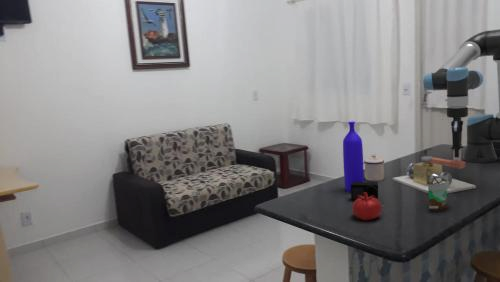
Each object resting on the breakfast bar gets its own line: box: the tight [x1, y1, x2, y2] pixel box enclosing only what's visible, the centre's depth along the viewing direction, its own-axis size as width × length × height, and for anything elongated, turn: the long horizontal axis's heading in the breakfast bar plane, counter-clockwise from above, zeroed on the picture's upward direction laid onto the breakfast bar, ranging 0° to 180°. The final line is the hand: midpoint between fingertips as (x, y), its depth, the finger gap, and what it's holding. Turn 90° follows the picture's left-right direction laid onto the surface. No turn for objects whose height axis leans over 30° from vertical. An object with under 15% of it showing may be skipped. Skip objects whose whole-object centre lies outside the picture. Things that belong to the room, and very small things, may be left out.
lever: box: [420, 155, 466, 170], centre depth 163 cm, size 18×5×2 cm, turn 31°
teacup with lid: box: [363, 154, 385, 182], centre depth 186 cm, size 12×9×12 cm
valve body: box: [405, 161, 453, 186], centre depth 170 cm, size 8×20×9 cm, turn 16°
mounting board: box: [392, 174, 477, 194], centre depth 171 cm, size 20×27×1 cm
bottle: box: [342, 120, 365, 193], centre depth 170 cm, size 8×8×30 cm
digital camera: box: [350, 181, 379, 202], centre depth 157 cm, size 10×5×7 cm, turn 70°
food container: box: [428, 176, 450, 211], centre depth 143 cm, size 12×6×10 cm, turn 148°
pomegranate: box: [351, 192, 383, 221], centre depth 140 cm, size 10×10×9 cm
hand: (457, 164), depth 161 cm, fingers closed
